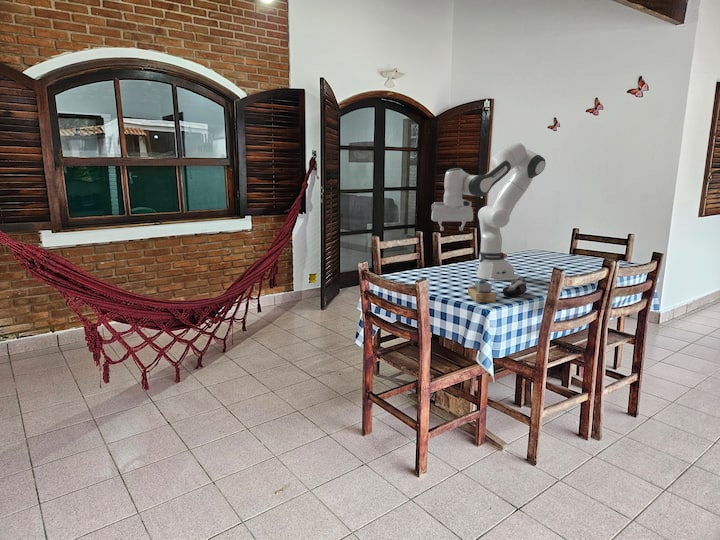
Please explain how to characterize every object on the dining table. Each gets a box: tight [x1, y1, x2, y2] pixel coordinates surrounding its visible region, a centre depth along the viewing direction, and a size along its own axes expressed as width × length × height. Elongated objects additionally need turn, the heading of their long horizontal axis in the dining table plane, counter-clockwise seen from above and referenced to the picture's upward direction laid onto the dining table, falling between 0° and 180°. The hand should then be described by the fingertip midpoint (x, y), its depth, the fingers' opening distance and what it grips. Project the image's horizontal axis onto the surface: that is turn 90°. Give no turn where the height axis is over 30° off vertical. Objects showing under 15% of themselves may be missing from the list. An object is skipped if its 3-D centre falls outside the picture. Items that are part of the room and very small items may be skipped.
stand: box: [467, 285, 497, 303], centre depth 230 cm, size 9×14×4 cm, turn 3°
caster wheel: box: [502, 278, 527, 298], centre depth 235 cm, size 7×11×10 cm
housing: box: [474, 278, 492, 293], centre depth 229 cm, size 8×5×5 cm, turn 3°
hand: (451, 230), depth 244 cm, fingers open, 8 cm apart
